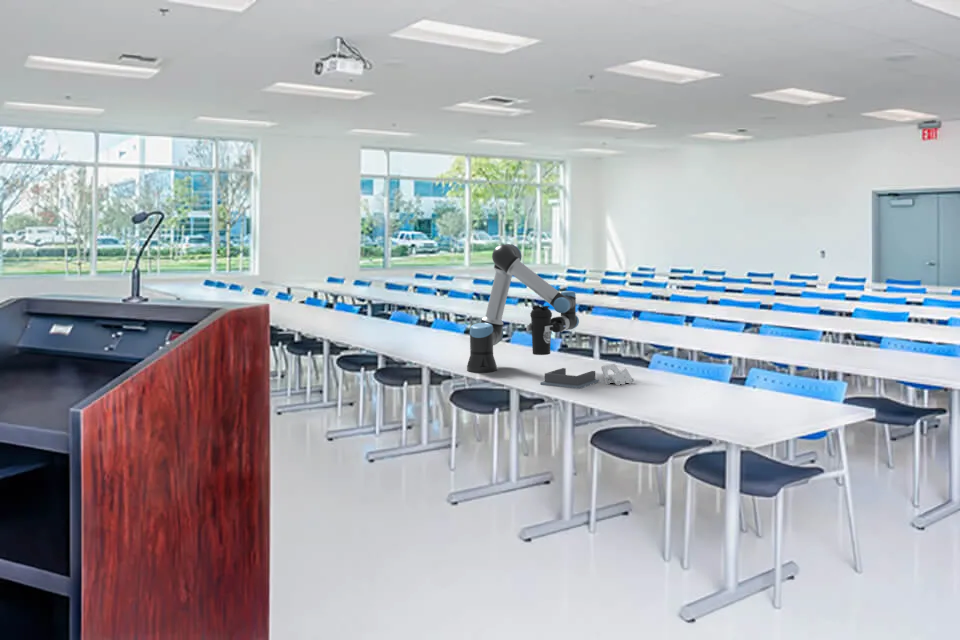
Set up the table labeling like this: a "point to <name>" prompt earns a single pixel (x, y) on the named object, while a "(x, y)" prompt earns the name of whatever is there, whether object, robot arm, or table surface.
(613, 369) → the mounting bracket
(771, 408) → the table surface
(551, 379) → the walled base tray
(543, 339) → the water bottle
